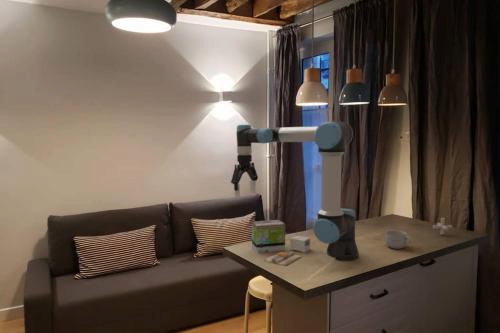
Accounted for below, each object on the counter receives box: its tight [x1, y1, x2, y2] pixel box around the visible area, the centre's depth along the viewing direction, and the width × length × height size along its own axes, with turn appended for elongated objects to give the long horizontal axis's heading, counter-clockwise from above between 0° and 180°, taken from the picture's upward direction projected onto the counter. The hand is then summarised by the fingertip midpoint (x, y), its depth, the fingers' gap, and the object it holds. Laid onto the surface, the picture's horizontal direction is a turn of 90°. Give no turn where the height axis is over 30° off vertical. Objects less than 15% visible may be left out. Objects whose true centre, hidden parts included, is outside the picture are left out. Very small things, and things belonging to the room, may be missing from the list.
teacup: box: [384, 229, 412, 250], centre depth 198 cm, size 14×11×8 cm
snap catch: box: [277, 251, 288, 257], centre depth 182 cm, size 4×3×1 cm
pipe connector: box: [432, 217, 453, 235], centre depth 218 cm, size 10×10×10 cm
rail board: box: [263, 250, 302, 267], centre depth 182 cm, size 12×14×3 cm
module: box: [289, 235, 311, 253], centre depth 195 cm, size 8×6×7 cm
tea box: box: [251, 219, 286, 254], centre depth 198 cm, size 15×10×15 cm
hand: (245, 194), depth 204 cm, fingers open, 13 cm apart
